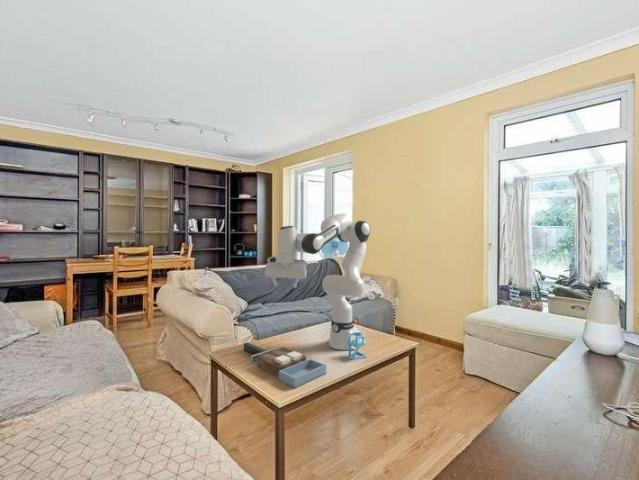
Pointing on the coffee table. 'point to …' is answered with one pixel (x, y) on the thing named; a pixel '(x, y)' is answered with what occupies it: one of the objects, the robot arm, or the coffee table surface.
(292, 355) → the tile
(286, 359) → the tile
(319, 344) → the coffee table surface
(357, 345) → the light blue open frame
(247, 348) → the scraper
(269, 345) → the coffee table surface
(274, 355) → the plate
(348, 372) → the coffee table surface
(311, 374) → the box
